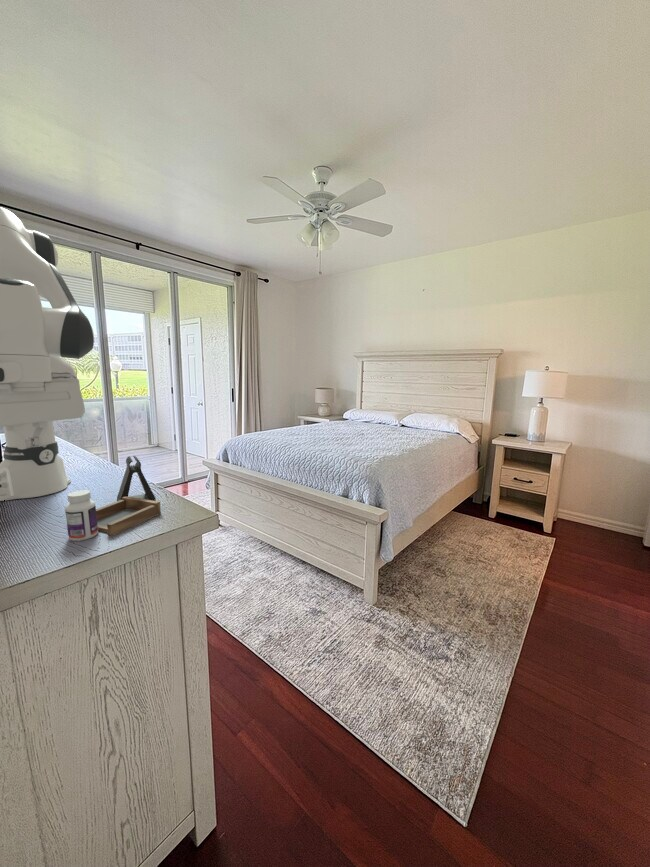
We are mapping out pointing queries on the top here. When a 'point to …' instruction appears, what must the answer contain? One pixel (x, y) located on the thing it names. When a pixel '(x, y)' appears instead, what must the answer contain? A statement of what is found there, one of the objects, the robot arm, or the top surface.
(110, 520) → the mat
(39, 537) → the top surface
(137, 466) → the phone stand
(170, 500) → the top surface
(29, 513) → the top surface
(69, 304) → the robot arm
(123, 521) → the tray
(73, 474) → the top surface
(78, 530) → the pill bottle
